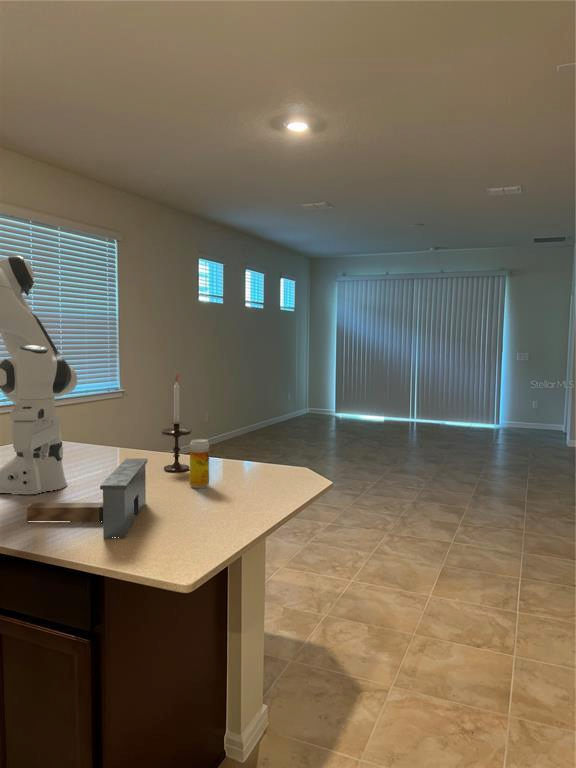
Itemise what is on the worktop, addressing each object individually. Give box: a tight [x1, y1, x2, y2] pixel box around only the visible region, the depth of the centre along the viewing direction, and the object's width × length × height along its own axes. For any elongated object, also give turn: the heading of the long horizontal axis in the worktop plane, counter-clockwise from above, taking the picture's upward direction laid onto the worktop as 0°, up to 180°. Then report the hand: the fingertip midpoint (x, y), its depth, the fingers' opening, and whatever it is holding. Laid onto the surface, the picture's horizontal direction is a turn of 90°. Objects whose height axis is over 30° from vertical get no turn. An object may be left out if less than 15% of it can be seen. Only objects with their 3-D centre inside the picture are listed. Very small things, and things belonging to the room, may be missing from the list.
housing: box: [99, 458, 148, 539], centre depth 143 cm, size 6×29×13 cm, turn 5°
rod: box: [26, 502, 103, 523], centre depth 143 cm, size 20×4×4 cm, turn 95°
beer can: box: [189, 438, 210, 489], centre depth 177 cm, size 6×6×15 cm
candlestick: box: [160, 373, 193, 474], centre depth 198 cm, size 11×11×35 cm
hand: (37, 462), depth 141 cm, fingers open, 8 cm apart
